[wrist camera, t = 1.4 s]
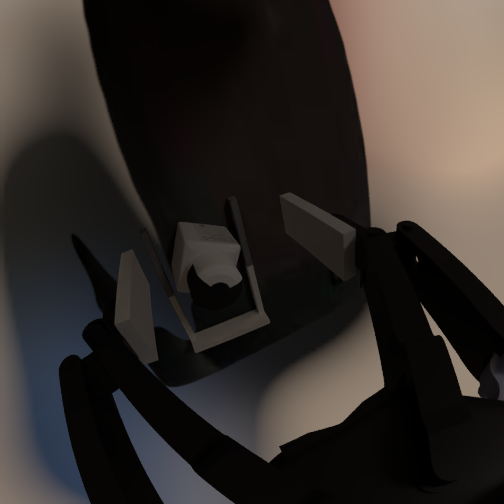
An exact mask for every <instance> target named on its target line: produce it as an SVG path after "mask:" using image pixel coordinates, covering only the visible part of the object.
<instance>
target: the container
mask: <svg viewBox="0 0 504 504" xmlns="http://www.w3.org/2000/svg"><path fill="white" fill-rule="evenodd" d="M240 249H241V247H240V245H239V244H238V243H237V241H236V240H235V239H234V237H233V236H232V235H231V234H230V232H229V231H228V230H227V228H226V227H222V226H214V225H205V224H196V223H187V222H179V223H178V225H177V231H176V238H175V244H174V251H173V257H172V265H171V266H172V271H173V276H174V280H175V284H176V288H177V291H178V292H180V293H190V294H191V297H192V299H193V301H194V302H195V303H196V304H197V305H198V306H199V307H201V308H203V309H207V310H219V309H223V308H226V307H228V306H229V305H231V304H232V303H233V302H235V301H236V299H237V298H238V297H239V295H240V294H241V291H242V288H243V279H242V276H241V274H240V273H239V271H238V270H237V268H236V265H237V261H238V257H239V253H240Z"/></svg>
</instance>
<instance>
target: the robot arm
mask: <svg viewBox="0 0 504 504" xmlns="http://www.w3.org/2000/svg"><path fill="white" fill-rule="evenodd" d="M280 201H281V206H282V212H283V218H284V224H285V230H286V233H287V234H288V235H290V236H291V237H292V238H293V239H295V240H296V241H297V242H298V243H299V244H301V245H302V246H303V247H304V248H305V249H307V250H308V251H309V252H310V253H311V254H313V255H314V256H315V257H316V258H317V259H319V260H320V261H321V262H322V263H323V264H325V265H326V266H327V267H328V268H329V269H330V270H332V271H333V272H334V273H335V274H336V275H337V276H339V277H340V278H341V279H342V280H343V281H346V280H348V279H350V278H352V277H353V276H355V275H356V266H357V267H358V268H359V269H361V279H360V288H362V285H363V287H364V290H365V294H366V298H367V302H368V306H369V310H370V314H371V318H372V322H373V327H374V331H375V336H376V341H377V345H378V350H379V355H380V360H381V366H382V371H383V377H384V388H382V389H381V390H379V391H378V392H377V393H375V394H374V395H372V396H371V397H369V398H368V399H366V400H365V401H363V402H362V403H361V404H360V405H359V406H358V407H357V408H356V409H355V410H354V411H353V412H352V413H351V414H350V415H349V416H348V417H347V418H346V419H345V420H344V421H343V422H342V423H340V424H338V425H335V426H332V427H328V428H325V429H322V430H318V431H314V432H310V433H307V434H305V435H303V436H301V437H299V438H297V439H295V440H292V441H290V442H288V443H286V444H284V445H281V446H279V447H280V449H281V451H282V452H281V453H280V454H278V455H277V456H276V457H275V458H274V459H272V460H271V461H270V462H269V463H268V462H266V461H265V460H263V459H262V458H260V457H259V456H257V455H256V454H254V453H252V452H251V451H249V450H248V449H246V448H245V447H243V446H242V445H240V444H239V443H238V442H236V441H235V440H233V439H232V438H230V437H229V436H227V435H224V434H222V433H221V432H220V431H218V430H217V429H216V428H214V427H213V426H212V425H210V424H209V423H208V422H207V421H205V420H204V419H203V418H202V417H200V416H199V415H198V414H196V412H194V411H193V410H192V409H191V408H189V407H188V406H187V405H186V404H185V403H184V402H183V401H181V400H180V399H179V398H178V397H177V396H176V395H175V394H174V393H172V392H171V391H170V390H169V389H168V388H167V387H166V386H165V385H164V384H163V383H162V382H161V381H160V380H159V379H158V378H157V377H156V376H154V375H153V374H152V373H151V372H150V371H149V370H148V369H147V368H146V367H145V366H144V365H145V364H148V363H151V362H154V361H157V360H158V355H157V349H156V341H155V334H154V326H153V317H152V308H151V298H150V287H149V283H148V281H147V279H146V277H145V275H144V273H143V271H142V269H141V267H140V264H139V262H138V261H137V258H136V256H135V254H134V252H133V250H132V249H131V250H129V251H127V252H124V253H122V254H121V261H120V268H119V276H118V277H119V278H118V285H117V296H116V297H114V298H112V299H109V300H108V301H107V302H106V304H105V306H104V310H103V318H102V319H96V320H94V321H92V322H90V323H89V324H88V325H87V326H86V327H85V329H84V330H83V334H82V336H83V339H84V340H85V342H86V343H87V344H88V345H89V347H90V348H91V349H92V350H93V352H92V353H91V354H90V355H88V356H86V357H85V358H83V359H82V360H81V359H80V358H79V356H77V355H70V356H68V357H67V358H65V359H64V360H63V362H62V363H61V365H60V367H59V378H60V386H61V394H62V401H63V407H64V412H65V418H66V423H67V428H68V432H69V436H70V441H71V445H72V449H73V452H74V456H75V459H76V463H77V466H78V469H79V472H80V475H81V478H82V481H83V484H84V487H85V490H86V492H87V495H88V498H89V500H90V503H91V504H164V503H163V501H162V500H161V498H160V497H159V495H158V493H157V491H156V490H155V488H154V486H153V484H152V483H151V481H150V479H149V477H148V475H147V474H146V472H145V470H144V468H143V466H142V464H141V462H140V460H139V458H138V456H137V454H136V452H135V449H134V447H133V445H132V443H131V441H130V438H129V436H128V434H127V431H126V429H125V427H124V424H123V422H122V419H121V417H120V414H119V412H118V409H117V406H116V403H115V401H114V398H113V395H112V393H113V392H115V391H116V390H117V389H119V388H120V390H121V391H122V392H123V393H124V395H125V396H126V397H127V399H128V400H129V401H130V402H131V403H132V405H133V406H134V407H135V408H136V409H137V411H138V412H139V413H140V414H141V415H142V416H143V418H144V419H145V420H146V421H147V422H148V423H149V424H150V425H151V427H152V428H153V429H154V430H155V431H156V432H157V433H158V434H159V435H160V436H161V437H162V438H163V439H164V440H165V441H166V442H167V443H168V444H169V445H170V446H171V447H172V448H173V449H174V450H175V451H176V452H177V453H178V454H179V455H180V456H181V457H182V458H183V459H184V460H186V462H188V463H189V464H190V465H191V466H192V468H193V470H194V471H195V472H196V473H197V474H198V475H199V476H200V477H201V478H203V479H204V480H205V481H206V482H208V483H209V484H210V485H211V486H212V487H214V488H215V489H216V490H217V491H219V492H220V493H221V494H223V495H224V496H225V497H227V498H228V499H229V500H231V501H232V502H234V503H235V504H504V306H503V304H501V302H500V301H499V300H498V299H497V298H496V297H495V296H494V294H493V293H492V292H491V291H490V290H489V289H488V288H487V287H486V286H485V285H484V284H483V283H482V282H481V281H480V280H479V279H478V278H477V277H476V276H475V275H474V274H473V273H472V272H471V271H470V270H469V269H468V268H467V267H466V266H465V265H464V264H463V263H462V262H461V261H459V260H458V259H457V258H456V257H455V256H454V255H453V254H452V253H451V252H450V251H448V250H447V249H446V248H445V247H444V246H443V245H442V244H440V243H439V242H438V241H437V240H436V239H435V238H433V237H432V236H431V235H430V234H429V233H427V232H426V231H425V230H424V229H423V228H421V227H420V226H419V225H418V224H416V223H414V222H411V221H402V222H399V223H398V224H397V230H396V231H395V232H390V233H386V232H385V231H384V230H382V229H380V228H376V227H370V228H366V229H365V228H364V227H362V226H360V225H358V224H357V223H355V222H352V221H351V220H349V219H347V218H346V217H344V216H342V215H339V214H334V213H333V214H329V213H327V212H325V211H323V210H321V209H320V208H318V207H316V206H314V205H312V204H311V203H309V202H307V201H305V200H303V199H301V198H299V197H298V196H296V195H294V194H292V193H287V194H283V195H280ZM416 256H417V258H418V262H417V261H416ZM420 302H421V303H420ZM421 304H422V305H423V306H424V308H425V309H426V310H427V312H428V313H429V314H430V316H431V317H432V318H433V320H434V321H435V322H436V324H437V325H438V327H439V328H440V329H441V331H442V332H443V334H444V335H445V336H446V338H447V339H448V341H449V342H450V344H451V345H452V347H453V348H454V349H455V351H456V353H457V354H458V355H459V357H460V359H461V360H462V362H463V363H464V365H465V366H466V367H467V369H468V370H469V371H470V373H471V374H472V375H473V376H474V377H475V378H476V379H477V380H478V381H479V382H480V387H479V389H478V394H479V395H480V397H482V398H479V397H471V396H463V395H462V393H461V390H460V387H459V383H458V380H457V376H456V373H455V370H454V367H453V364H452V361H451V358H450V355H449V353H448V350H447V347H446V344H445V342H444V340H443V338H442V337H441V336H440V335H437V336H434V335H433V333H432V331H431V328H430V325H429V323H428V320H427V318H426V315H425V313H424V311H423V308H422V306H421ZM139 359H140V360H141V361H140V360H139ZM143 364H144V365H143Z"/></svg>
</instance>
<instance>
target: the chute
mask: <svg viewBox="0 0 504 504" xmlns="http://www.w3.org/2000/svg"><path fill="white" fill-rule="evenodd" d="M227 199H228V203H229V207H230V211H231V215H232V219H233V222H234V226H235V230H236V234H237V238H238V242H239V245H240V247H241V253H242V257H243V261H244V264H245V268H246V272H247V276H248V279H249V283H250V287H251V291H252V294H253V298H254V302H255V305H256V309H255V310H252V311H250V312H248V313H245V314H243V315H240V316H238V317H235V318H233V319H231V320H228V321H226V322H223V323H221V324H218V325H215V326H213V327H210V328H208V329H205V330H203V331H200V332H197V333H195V334H194V332H193V330H192V328H191V326H190V324H189V322H188V320H187V318H186V316H185V314H184V312H183V310H182V308H181V306H180V304H179V302H178V300H177V298H176V296H175V294H174V291H173V289H172V287H171V285H170V283H169V281H168V278H167V276H166V274H165V272H164V270H163V267H162V265H161V263H160V260H159V258H158V256H157V253H156V251H155V249H154V246H153V244H152V242H151V239H150V237H149V234H148V232H147V229H146V228H144V229H141V230H140V235H141V238H142V240H143V242H144V245H145V247H146V250H147V252H148V254H149V257H150V259H151V261H152V263H153V266H154V268H155V270H156V272H157V274H158V276H159V279H160V281H161V283H162V285H163V287H164V289H165V291H166V293H167V295H168V297H169V299H170V301H171V303H172V305H173V307H174V309H175V311H176V313H177V315H178V317H179V319H180V321H181V323H182V325H183V327H184V328H185V330H186V332H187V334H188V336H189V338H190V340H191V342H192V345H193V349H194V351H195V353H197V352H200V351H203V350H205V349H208V348H211V347H213V346H216V345H218V344H221V343H223V342H226V341H228V340H231V339H233V338H236V337H238V336H241V335H243V334H245V333H248V332H250V331H253V330H255V329H257V328H260V327H262V326H264V325H266V324H269V323H270V320H269V318H268V317H267V315H266V314H265V312H264V309H263V305H262V301H261V297H260V293H259V289H258V285H257V281H256V277H255V273H254V269H253V265H252V260H251V256H250V252H249V248H248V244H247V240H246V236H245V232H244V228H243V224H242V220H241V216H240V212H239V207H238V203H237V199H236V198H235V197H234V196H233V197H230V198H227Z"/></svg>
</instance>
